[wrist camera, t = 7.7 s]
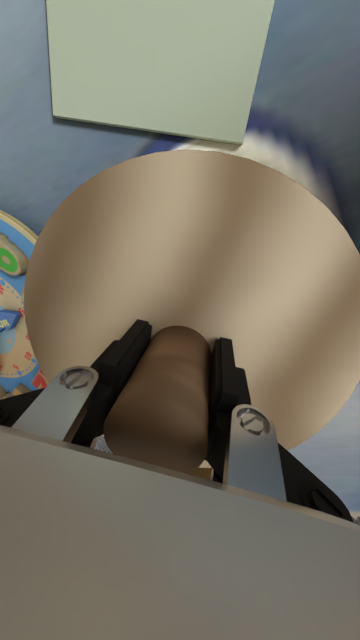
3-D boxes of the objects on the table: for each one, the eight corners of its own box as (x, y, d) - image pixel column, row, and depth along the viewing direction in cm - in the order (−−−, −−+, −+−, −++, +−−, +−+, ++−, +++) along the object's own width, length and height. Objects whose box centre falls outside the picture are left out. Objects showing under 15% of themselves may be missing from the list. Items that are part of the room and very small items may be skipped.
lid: (448, 195, 8) (952, 123, 3) (284, 479, 15) (324, 625, 9) (18, 129, 9) (-267, -13, 4) (50, 418, 16) (-35, 516, 11)
